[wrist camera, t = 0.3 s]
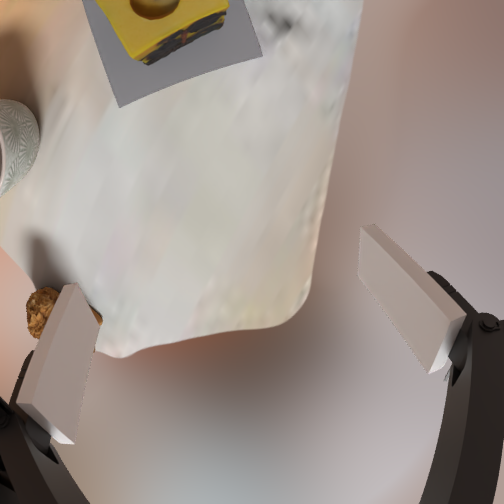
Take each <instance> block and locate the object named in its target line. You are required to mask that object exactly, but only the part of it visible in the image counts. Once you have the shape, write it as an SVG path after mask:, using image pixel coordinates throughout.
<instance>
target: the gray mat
mask: <svg viewBox="0 0 504 504" xmlns="http://www.w3.org/2000/svg"><path fill="white" fill-rule="evenodd" d="M82 2H83V5H84V8H85V11H86V15H87V18H88V21H89V24H90V27H91V30H92V33H93V36H94V39H95V42H96V45H97V48H98V51H99V54H100V57H101V60H102V63H103V65H104V68H105V71H106V74H107V77H108V79H109V82H110V85H111V87H112V90H113V93H114V95H115V98H116V101H117V103H118V106H119V108H121V107H123V106H125V105H127V104H129V103H131V102H133V101H136V100H138V99H140V98H142V97H145V96H147V95H149V94H152V93H154V92H156V91H159V90H161V89H164V88H166V87H169V86H171V85H174V84H176V83H179V82H182V81H184V80H187V79H190V78H193V77H195V76H198V75H201V74H204V73H207V72H210V71H213V70H216V69H219V68H223V67H226V66H229V65H233V64H236V63H240V62H243V61H247V60H250V59H254V58H258V57H262V56H263V55H262V52H261V49H260V46H259V43H258V40H257V38H256V35H255V32H254V29H253V26H252V23H251V21H250V18H249V15H248V12H247V10H246V7H245V4H244V2H243V0H228V2H229V5H230V6H229V8H228V9H227V10H226V15H225V16H224V19H225V20H224V24H223V26H222V27H221V28H220V29H219V30H214V31H212V32H210V33H208V34H206V35H204V36H201V37H200V38H198V39H196V40H194V41H193V42H192V43H189V44H187V45H186V46H183V47H181V48H180V49H178V50H176V51H175V52H171V53H170V54H169V55H168V56H166V57H165V58H161V59H160V60H159V61H157V62H155V63H153V64H151V65H149V66H147V65H145V64H144V63H143V62H142V61H137V60H134V59H132V58H131V57H130V56H129V55H128V53H127V51H126V50H125V48H124V46H123V45H122V43H121V41H120V39H119V38H118V36H117V35H116V33H115V31H114V29H113V27H112V25H111V24H110V22H109V20H108V19H107V17H106V15H105V13H104V12H103V10H102V9H101V8H100V7H99V6H98V4H97V2H96V1H95V0H82Z"/></svg>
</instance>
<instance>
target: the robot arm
mask: <svg viewBox="0 0 504 504" xmlns="http://www.w3.org/2000/svg"><path fill="white" fill-rule="evenodd" d="M357 276H358V277H359V279H360V280H361V281H362V283H363V284H364V285H365V287H366V288H367V289H368V291H369V292H370V293H371V295H372V296H373V297H374V299H375V300H376V301H377V303H378V304H379V305H380V307H381V308H382V310H383V311H384V312H385V313H386V315H387V316H388V318H389V319H390V320H391V322H392V323H393V325H394V326H395V327H396V329H397V330H398V332H399V333H400V335H401V336H402V337H403V339H404V340H405V342H406V343H407V345H408V346H409V347H410V349H411V350H412V352H413V353H414V355H415V356H416V357H417V359H418V361H419V362H420V364H421V365H422V366H423V368H424V370H425V371H426V373H427V374H430V373H432V372H435V371H437V370H439V369H440V368H443V367H444V365H445V363H446V361H447V358H448V357H449V358H450V360H451V361H452V365H451V367H450V369H449V371H448V373H447V375H446V376H445V379H444V381H447V379H448V377H449V382H448V389H447V396H446V402H445V408H444V414H443V419H442V424H441V429H440V433H439V438H438V442H437V446H436V450H435V454H434V458H433V462H432V465H431V469H430V472H429V476H428V479H427V482H426V486H425V488H424V492H423V494H422V497H421V500H420V503H419V504H493V500H494V496H495V491H496V486H497V481H498V476H499V470H500V463H501V456H502V448H503V440H504V320H500V321H499V320H498V318H496V317H495V316H494V315H492V314H489V313H478V312H477V311H476V310H475V309H474V308H473V307H472V306H471V305H470V304H469V303H468V302H467V301H466V300H465V299H464V298H463V297H462V296H461V294H460V293H459V292H456V289H454V288H453V286H452V285H451V286H450V283H449V282H448V281H447V280H446V279H444V278H443V277H442V276H441V275H439V274H437V273H435V272H433V271H429V272H425V271H424V269H423V268H422V267H420V266H419V265H418V264H417V263H416V262H415V261H414V260H413V259H412V258H411V257H410V256H409V255H408V254H407V253H406V252H405V251H404V250H403V249H402V248H400V247H399V246H398V245H397V244H396V243H395V242H394V241H393V240H392V239H391V238H390V237H389V236H387V235H386V234H385V233H384V232H383V231H382V230H381V229H380V228H379V227H377V226H376V225H375V224H372V225H367V226H362V227H360V245H359V260H358V273H357ZM99 329H100V326H99V324H98V322H97V320H96V318H95V316H94V314H93V313H92V311H91V309H90V307H89V305H88V303H87V301H86V299H85V297H84V295H83V293H82V291H81V289H80V287H79V285H78V283H73V284H68V285H64V287H63V289H62V291H61V293H60V295H59V297H58V299H57V301H56V303H55V305H54V307H53V310H52V312H51V314H50V316H49V318H48V320H47V323H46V325H45V327H44V329H43V332H42V334H41V336H40V339H39V341H38V344H37V346H36V348H35V350H32V351H31V352H30V354H29V355H28V356H27V358H26V359H25V361H24V363H23V366H22V368H21V372H20V374H19V376H18V378H19V379H17V382H16V384H15V387H14V390H13V393H12V396H11V399H10V402H9V405H8V404H7V403H6V402H5V401H4V400H3V399H2V398H1V397H0V504H90V503H89V502H88V500H87V499H86V498H85V496H84V494H83V493H82V492H81V490H80V489H79V487H78V486H77V484H76V482H75V481H74V479H73V478H72V476H71V475H70V473H69V471H68V470H67V468H66V467H65V465H64V463H63V462H62V460H61V458H60V457H59V455H58V453H57V451H56V449H55V448H54V447H53V445H52V444H51V443H50V439H51V436H52V437H53V438H54V439H55V440H56V441H58V442H59V443H64V444H75V442H76V435H77V428H78V422H79V417H80V411H81V406H82V401H83V396H84V390H85V386H86V382H87V377H88V372H89V368H90V364H91V360H92V356H93V352H94V348H95V344H96V340H97V336H98V333H99Z"/></svg>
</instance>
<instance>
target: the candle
mask: <svg viewBox="0 0 504 504" xmlns="http://www.w3.org/2000/svg"><path fill="white" fill-rule="evenodd" d="M95 1H96V2H97V4H98V6H99V7H100V8H101V9H102V10H103V12H104V13H105V15H106V17H107V19H108V20H109V22H110V24H111V25H112V27H113V29H114V31H115V33H116V35H117V36H118V38H119V39H120V41H121V43H122V45H123V46H124V48H125V50H126V51H127V53H128V55H129V56H130V57H131V58H132V59H134V60H137V61H142V62H143V63H144V64H145V65H147V66H149V65H151V64H153V63H155V62H157V61H159V60H160V59H161V58H165V57H166V56H168V55H169V54H170V53H171V52H175V51H176V50H178V49H180V48H181V47H183V46H186V45H187V44H189V43H192V42H193V41H194V40H196V39H198V38H200V37H201V36H204V35H206V34H208V33H210V32H212V31H214V30H219V29H220V28H221V27H222V26H223V24H224V20H225V19H224V16H225V15H226V10H227V9H228V8H229V6H230V5H229V2H228V0H95Z"/></svg>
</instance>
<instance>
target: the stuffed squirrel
mask: <svg viewBox="0 0 504 504" xmlns="http://www.w3.org/2000/svg"><path fill="white" fill-rule="evenodd" d="M59 295H60V294H59V292H57V291H56V290H54V289H53V288H48V287H44V288H43V289H42V288H41V289H39V290H37V291H36V292H34V293H32V294H31V296H30V298H29V300H28V301H27V304H26V307H27V308H26V309H27V311H26V312H27V322H28V329H29V332H30V334H31V335H32V336H33V337H34V338H38V339H40V336H41V334H42V332H43V329H44V327H45V325H46V323H47V320H48V318H49V316H50V314H51V312H52V310H53V307H54V305H55V303H56V301H57V299H58V297H59ZM90 309H91V311H92V313H93V314H94V316H95V318H96V320H97V322H98V324H99V326H100V325H102V322H103V320H102V318H101V317H100V316H99V315H98V314H97V313H96V312H95V311H94V310H93V309H92V308H90ZM94 352H95V348H94ZM94 352H93V353H94Z"/></svg>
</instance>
